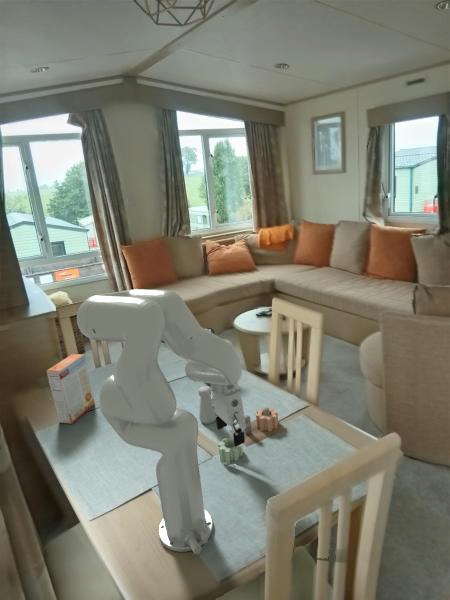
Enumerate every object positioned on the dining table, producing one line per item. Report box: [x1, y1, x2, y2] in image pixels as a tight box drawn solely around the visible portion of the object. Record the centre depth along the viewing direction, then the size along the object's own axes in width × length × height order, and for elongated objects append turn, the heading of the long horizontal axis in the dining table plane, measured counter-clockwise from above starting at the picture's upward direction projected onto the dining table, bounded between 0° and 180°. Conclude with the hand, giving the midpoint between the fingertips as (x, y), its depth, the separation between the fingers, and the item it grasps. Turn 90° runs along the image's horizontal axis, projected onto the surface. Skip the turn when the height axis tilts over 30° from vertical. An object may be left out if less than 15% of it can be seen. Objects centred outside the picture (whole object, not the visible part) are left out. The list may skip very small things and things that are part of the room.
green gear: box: [217, 436, 244, 466], centre depth 120 cm, size 7×7×4 cm
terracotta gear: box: [255, 407, 279, 432], centre depth 132 cm, size 7×7×4 cm
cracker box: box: [46, 353, 96, 425], centre depth 150 cm, size 14×6×21 cm, turn 161°
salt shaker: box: [197, 385, 216, 425], centre depth 137 cm, size 6×6×13 cm
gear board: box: [229, 407, 287, 447], centre depth 130 cm, size 10×15×7 cm, turn 120°
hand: (230, 435), depth 120 cm, fingers open, 9 cm apart
